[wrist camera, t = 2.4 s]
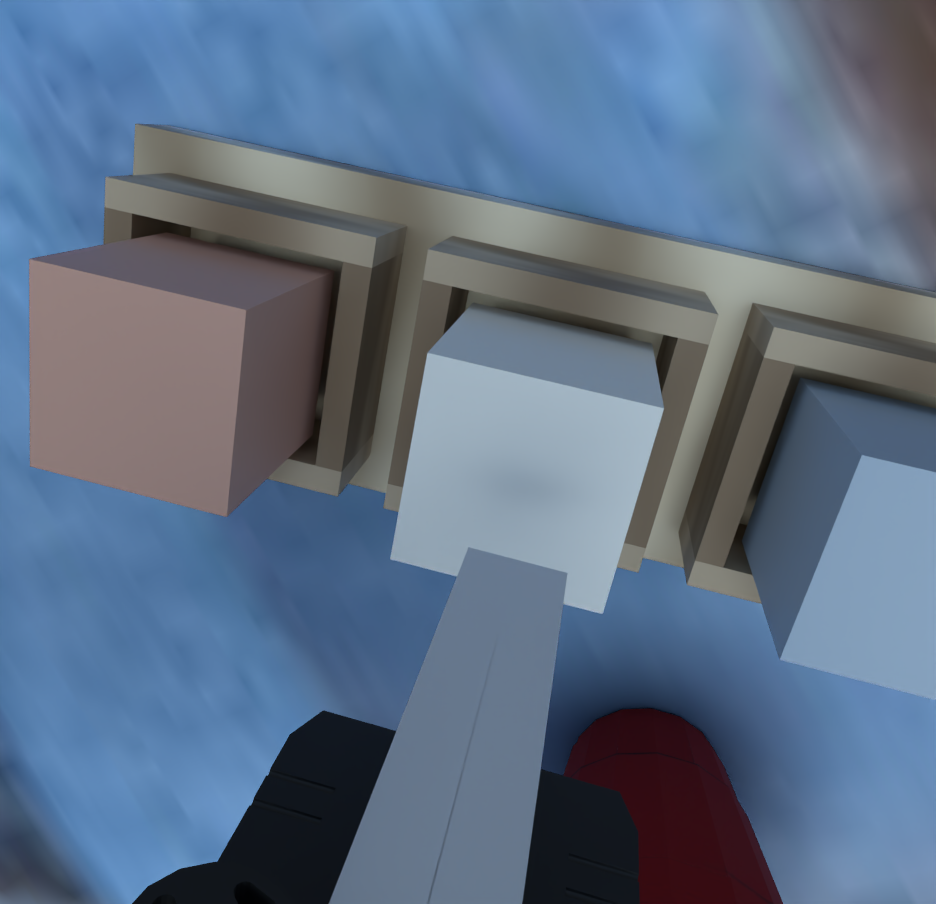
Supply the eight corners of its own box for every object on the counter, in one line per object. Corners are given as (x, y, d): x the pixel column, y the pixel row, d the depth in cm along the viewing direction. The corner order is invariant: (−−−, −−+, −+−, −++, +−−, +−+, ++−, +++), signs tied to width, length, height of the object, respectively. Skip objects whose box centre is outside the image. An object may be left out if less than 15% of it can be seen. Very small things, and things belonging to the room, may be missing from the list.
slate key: (741, 541, 24) (779, 659, 18) (799, 377, 22) (861, 455, 17) (917, 584, 24) (1010, 719, 18) (991, 421, 22) (1120, 516, 16)
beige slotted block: (152, 410, 31) (60, 462, 26) (168, 125, 27) (64, 120, 22) (918, 600, 28) (984, 699, 23) (1050, 317, 25) (1162, 361, 20)
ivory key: (440, 466, 25) (390, 558, 19) (473, 302, 23) (427, 352, 17) (605, 507, 24) (602, 614, 19) (652, 343, 23) (663, 408, 17)
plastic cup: (447, 744, 34) (365, 1036, 23) (659, 599, 30) (685, 865, 19) (621, 914, 35) (625, 1265, 24) (843, 797, 32) (967, 1150, 21)
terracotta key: (157, 396, 26) (30, 466, 20) (166, 232, 24) (29, 259, 18) (312, 435, 25) (226, 517, 20) (334, 270, 23) (246, 310, 18)
